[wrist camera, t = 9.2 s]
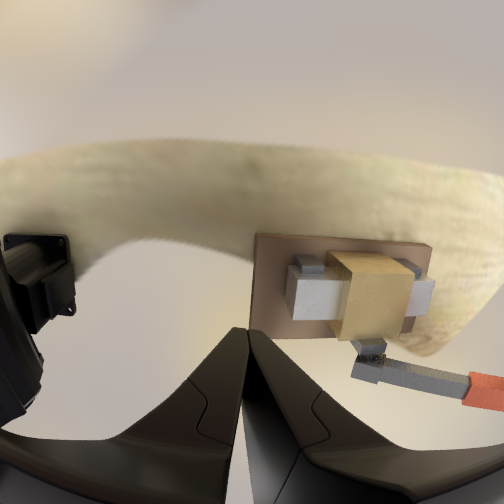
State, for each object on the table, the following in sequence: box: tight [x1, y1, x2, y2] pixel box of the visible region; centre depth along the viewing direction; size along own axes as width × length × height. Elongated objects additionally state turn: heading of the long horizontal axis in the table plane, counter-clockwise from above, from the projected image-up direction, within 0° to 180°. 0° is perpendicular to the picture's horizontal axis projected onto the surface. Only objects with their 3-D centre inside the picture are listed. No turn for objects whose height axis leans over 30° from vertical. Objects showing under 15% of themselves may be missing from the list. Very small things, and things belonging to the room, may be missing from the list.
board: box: [249, 233, 432, 339], centre depth 23 cm, size 14×8×1 cm, turn 86°
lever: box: [351, 353, 504, 412], centre depth 16 cm, size 2×2×12 cm
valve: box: [285, 251, 435, 355], centre depth 20 cm, size 10×5×5 cm, turn 86°
